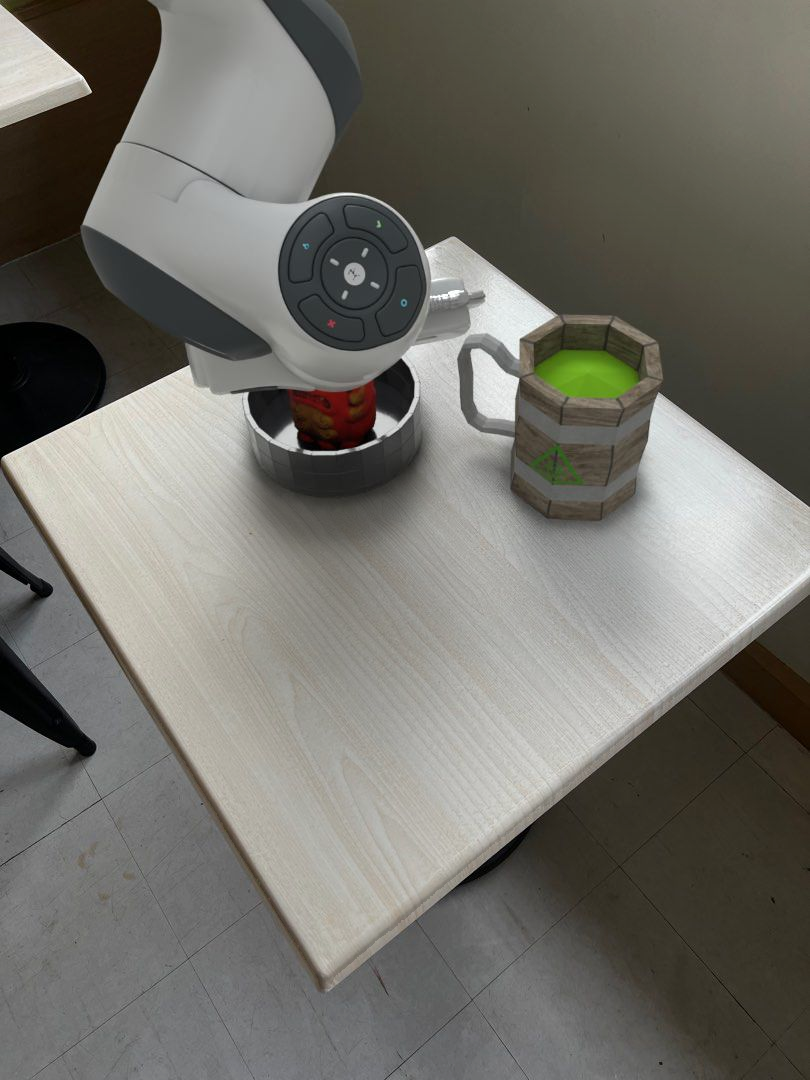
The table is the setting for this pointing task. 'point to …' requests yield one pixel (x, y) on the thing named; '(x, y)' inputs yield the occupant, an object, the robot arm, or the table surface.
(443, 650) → the table surface
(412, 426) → the pan
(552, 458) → the mug
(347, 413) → the red clay folk toy
